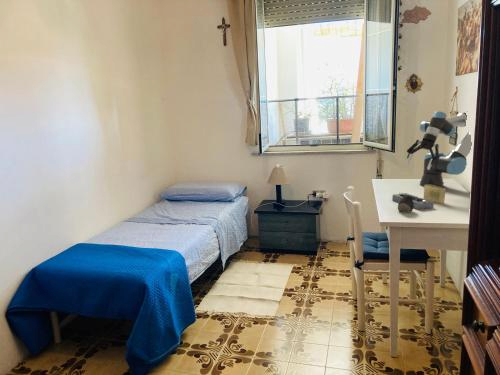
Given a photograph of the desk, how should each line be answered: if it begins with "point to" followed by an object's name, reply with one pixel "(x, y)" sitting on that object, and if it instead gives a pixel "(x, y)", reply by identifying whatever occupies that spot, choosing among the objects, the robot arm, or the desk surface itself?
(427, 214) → the desk surface
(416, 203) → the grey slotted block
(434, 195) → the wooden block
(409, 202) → the stone
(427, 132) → the robot arm
